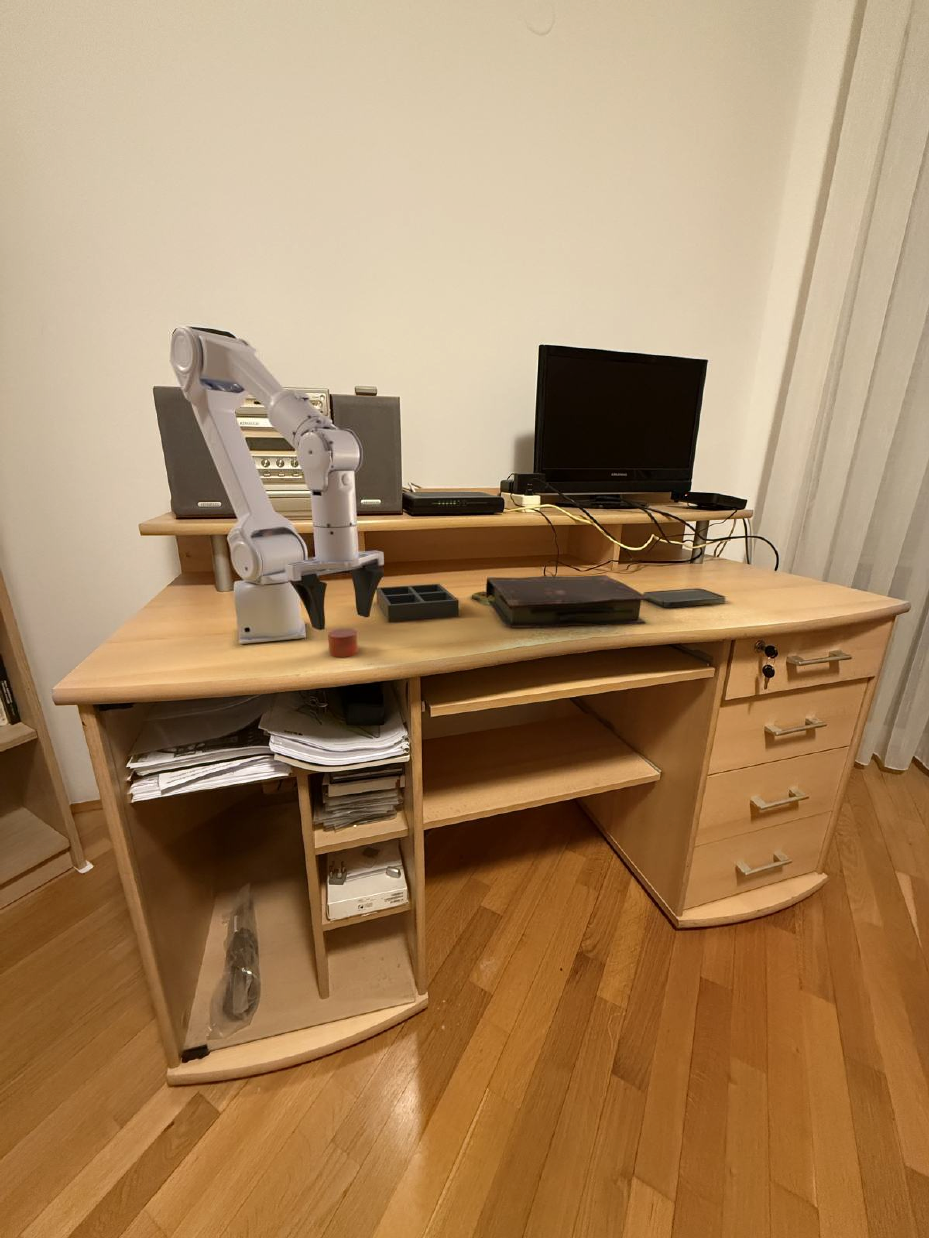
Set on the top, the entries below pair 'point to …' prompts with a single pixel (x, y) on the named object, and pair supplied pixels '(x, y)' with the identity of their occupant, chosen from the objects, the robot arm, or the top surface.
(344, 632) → the red short cylinder
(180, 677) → the top surface
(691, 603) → the phone
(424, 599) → the tray
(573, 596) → the diary
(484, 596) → the seal
